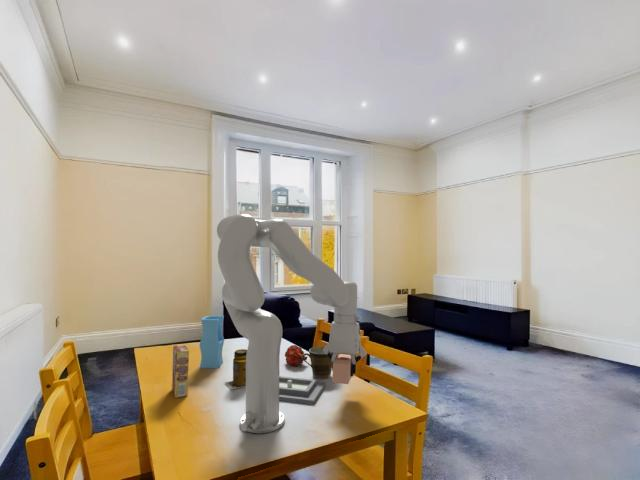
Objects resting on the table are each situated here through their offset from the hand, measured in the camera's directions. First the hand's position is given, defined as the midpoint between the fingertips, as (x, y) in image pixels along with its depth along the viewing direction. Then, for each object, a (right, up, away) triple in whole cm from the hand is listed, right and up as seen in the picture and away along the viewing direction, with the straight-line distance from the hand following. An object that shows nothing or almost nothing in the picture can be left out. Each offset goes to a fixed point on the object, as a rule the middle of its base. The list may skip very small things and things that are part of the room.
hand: (343, 373), depth 117 cm
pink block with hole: (0, -1, 0) cm, 1 cm away
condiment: (-38, -9, +12) cm, 41 cm away
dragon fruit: (-18, -9, +34) cm, 40 cm away
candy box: (-56, -9, +5) cm, 57 cm away
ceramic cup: (-9, -9, +20) cm, 24 cm away
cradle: (-18, -8, +6) cm, 21 cm away
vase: (-54, -9, +33) cm, 64 cm away
